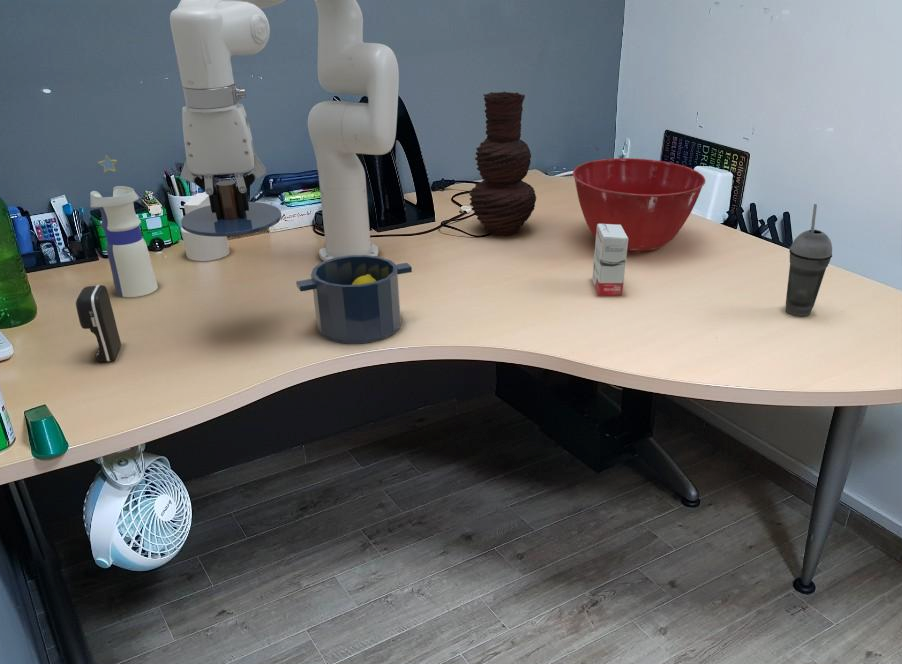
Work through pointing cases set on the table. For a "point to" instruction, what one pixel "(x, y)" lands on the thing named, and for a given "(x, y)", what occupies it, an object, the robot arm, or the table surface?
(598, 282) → the ink box
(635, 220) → the mixing bowl
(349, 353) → the table surface
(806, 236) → the beverage cup
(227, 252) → the cylinder with rectangular tab
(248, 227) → the pot lid
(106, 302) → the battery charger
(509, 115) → the vase
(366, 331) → the pot
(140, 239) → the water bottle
